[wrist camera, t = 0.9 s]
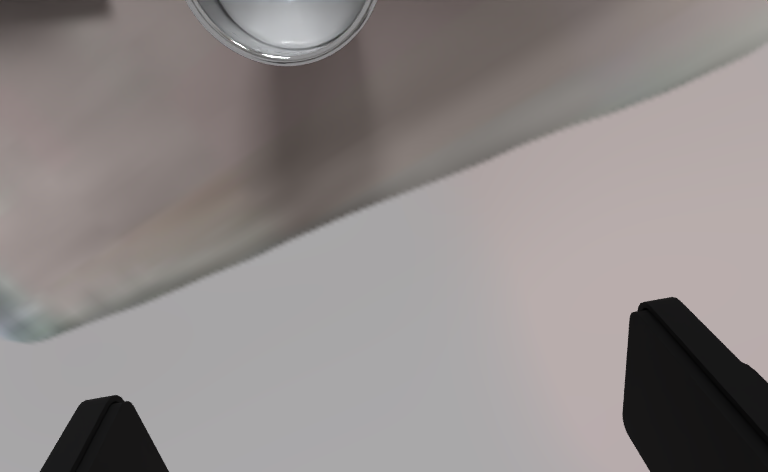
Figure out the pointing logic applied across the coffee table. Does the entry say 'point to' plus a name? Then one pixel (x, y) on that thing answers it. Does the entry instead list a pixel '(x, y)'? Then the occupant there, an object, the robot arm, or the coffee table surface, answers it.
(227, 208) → the coffee table surface
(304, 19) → the beer glass
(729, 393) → the robot arm
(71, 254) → the coffee table surface
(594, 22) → the coffee table surface
